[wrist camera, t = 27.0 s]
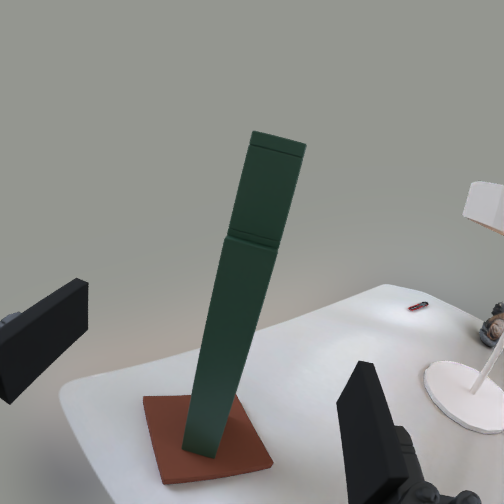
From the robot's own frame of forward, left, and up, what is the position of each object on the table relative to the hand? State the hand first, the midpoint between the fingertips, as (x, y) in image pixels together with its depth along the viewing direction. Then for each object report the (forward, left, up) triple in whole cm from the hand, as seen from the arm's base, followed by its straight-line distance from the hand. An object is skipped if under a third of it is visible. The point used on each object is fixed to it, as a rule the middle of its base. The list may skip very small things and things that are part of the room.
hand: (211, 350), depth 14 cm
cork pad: (+4, +7, -16) cm, 18 cm away
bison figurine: (+79, +11, -17) cm, 82 cm away
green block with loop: (+4, +7, -15) cm, 17 cm away
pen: (+69, +31, -17) cm, 78 cm away
